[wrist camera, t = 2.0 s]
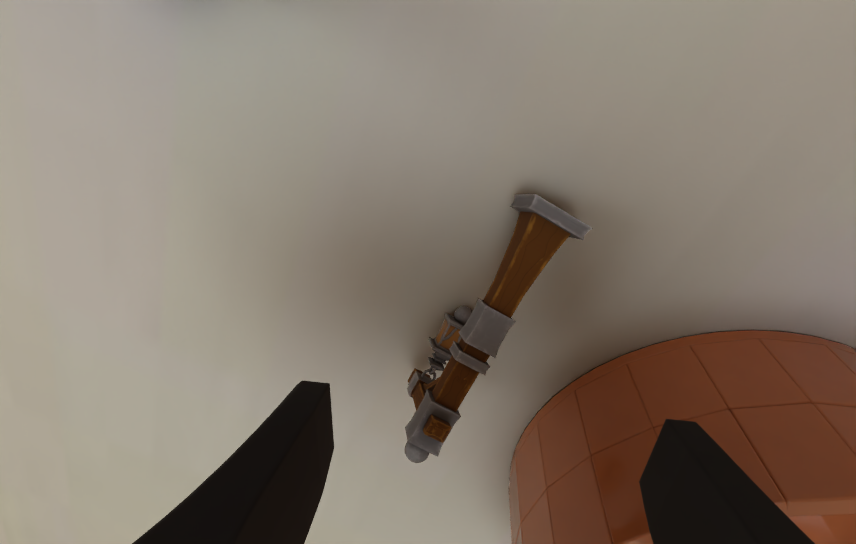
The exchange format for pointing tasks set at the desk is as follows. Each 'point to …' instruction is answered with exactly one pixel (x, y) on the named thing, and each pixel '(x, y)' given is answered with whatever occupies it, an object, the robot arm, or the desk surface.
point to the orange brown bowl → (715, 413)
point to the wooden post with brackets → (483, 324)
